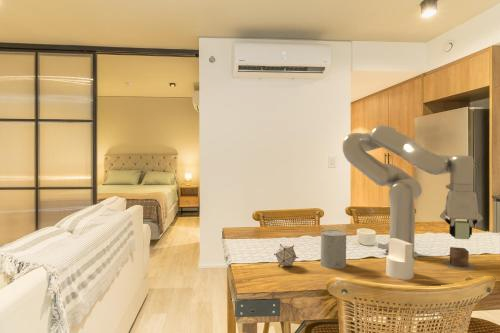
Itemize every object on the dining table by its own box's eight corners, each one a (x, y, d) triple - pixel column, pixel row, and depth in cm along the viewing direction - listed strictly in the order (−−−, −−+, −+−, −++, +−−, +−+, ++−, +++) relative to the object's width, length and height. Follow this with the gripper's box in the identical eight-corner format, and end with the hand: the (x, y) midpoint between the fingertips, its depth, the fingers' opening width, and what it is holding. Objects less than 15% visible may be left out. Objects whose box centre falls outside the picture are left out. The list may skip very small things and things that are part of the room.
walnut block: (453, 266, 134) (453, 250, 134) (449, 262, 139) (450, 247, 139) (468, 267, 133) (468, 251, 132) (464, 263, 138) (464, 248, 137)
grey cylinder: (318, 267, 134) (318, 234, 133) (322, 259, 143) (322, 229, 142) (344, 270, 130) (345, 236, 130) (347, 262, 139) (347, 231, 139)
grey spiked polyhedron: (289, 275, 136) (305, 253, 136) (285, 274, 128) (301, 251, 129) (271, 260, 140) (287, 239, 140) (266, 258, 132) (282, 236, 133)
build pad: (448, 268, 133) (448, 267, 133) (442, 261, 141) (442, 260, 141) (476, 270, 130) (476, 269, 130) (468, 263, 139) (468, 262, 139)
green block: (455, 238, 134) (455, 222, 133) (452, 236, 138) (452, 220, 138) (469, 239, 132) (469, 223, 132) (465, 236, 137) (465, 221, 136)
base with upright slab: (419, 278, 123) (420, 243, 122) (397, 280, 120) (398, 245, 120) (401, 269, 131) (402, 237, 131) (380, 272, 129) (381, 239, 128)
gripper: (438, 188, 133) (438, 237, 134) (490, 189, 129) (489, 240, 129) (434, 186, 140) (433, 233, 141) (483, 187, 136) (482, 235, 137)
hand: (460, 235), depth 135 cm, fingers closed on green block, 4 cm apart
